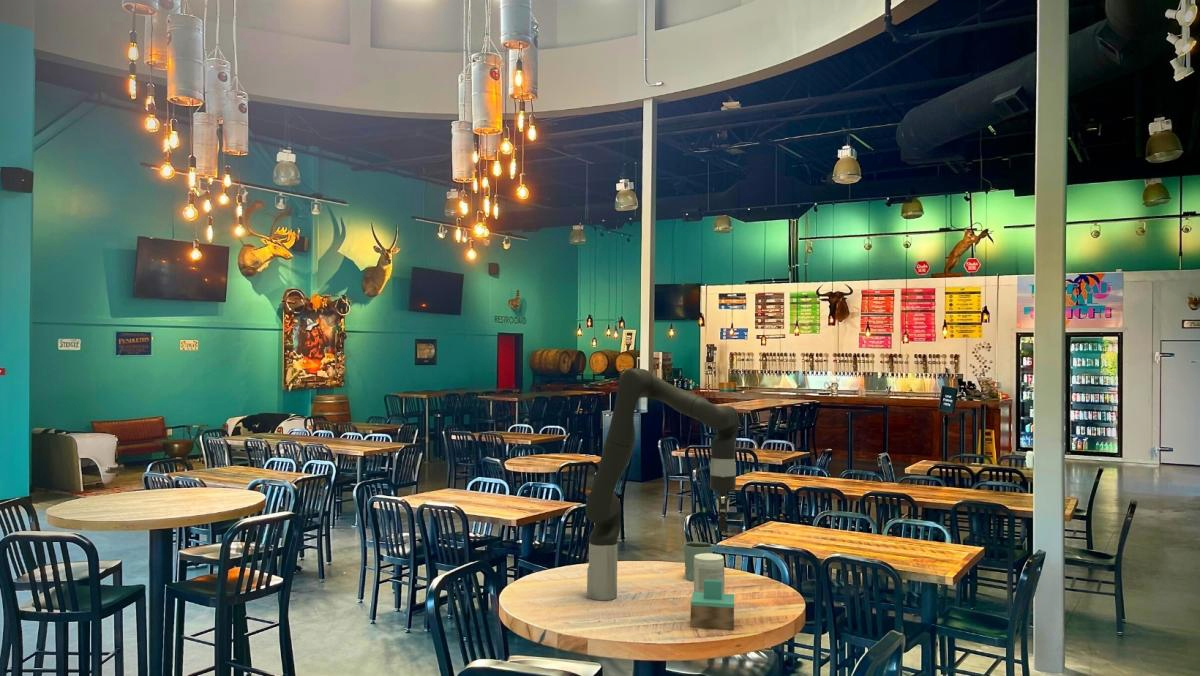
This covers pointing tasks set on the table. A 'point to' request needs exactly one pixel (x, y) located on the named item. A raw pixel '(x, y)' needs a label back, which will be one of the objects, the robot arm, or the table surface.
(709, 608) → the crate
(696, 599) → the lid
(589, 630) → the table surface
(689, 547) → the grey green pot
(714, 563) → the supplement tub
